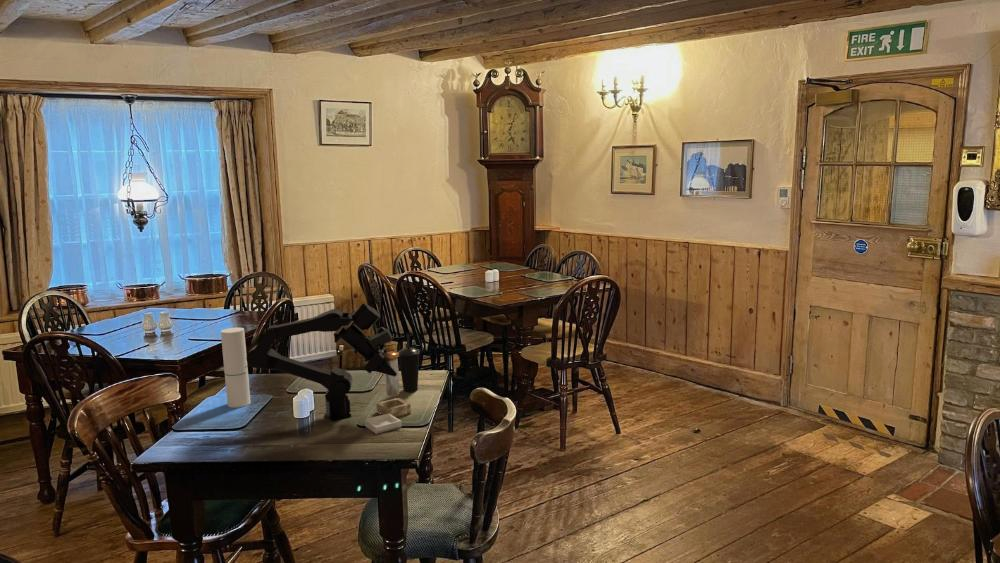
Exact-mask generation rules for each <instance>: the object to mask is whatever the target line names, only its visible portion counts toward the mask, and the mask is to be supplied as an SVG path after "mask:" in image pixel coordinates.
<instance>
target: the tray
mask: <svg viewBox="0 0 1000 563" xmlns="http://www.w3.org/2000/svg"><path fill="white" fill-rule="evenodd" d="M363 426H364V427H365V428H367V429H369V430H370V431H372V432H373V433H375V434H376V435H379V434H381V433H386V432H389V431H393V430H396V429H401V428H402V427H403V426H402V420H401V419H400V418H398V417H394V416H392V415H391V414H389V413H388V414H384V415H381V414H379V415H375V416H372V417H368V418H365V419H363Z"/></svg>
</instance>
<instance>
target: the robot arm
mask: <svg viewBox="0 0 1000 563" xmlns="http://www.w3.org/2000/svg"><path fill="white" fill-rule="evenodd" d="M380 318H381V314H380V313H379V312H378V310H376V309H375V308H374V307H373V306H370V305H369V304H367V303H365V302H362V303H361V304H360V306H359V307H358V308H357V309H356V310H355V311H354V312H342V310H339V309H338V308H332V309H330V310H327V311H325V312H322V313H319V314H318V315H316V316H313V317H310V318H305V319H301V320H296V321H290V322H286V323H281V324H277V325H276V324H275V325H274V324H272V325H270V326H269V327H268V328H267V329H266V330H265V333H264V335H263V336H262V338H261V339H260V340H259V342H258V344H256V345H254V346H253V347H252V348H251V349H250V350H249V351H248V353H246V356H247V357H246V360H247V366H249V367H251V368H253V369H260V370H277V371H278V372H282V373H285V374H289V375H291V376H295V377H299V378H301V379H304V380H307V381H310V382H313V383H316V384H320V385H321V386H322V387H324V388H325V389H326V392H325V395H324V397H325V398H324V399H325V401H324V402H325V413H324V414H323V415H324V416H325V417H327V419H329V420H330V421H332V422H333V421H338V420H341V419H344V418H349V417H352V414H351V400H350V399H349V395H348V393H349V392H350V390H351V388H352V386H353V385H352V384H353V377H352V375H351V373H350V372H348V371H347V368H346V369H345V368H339V367H338V366H335V365H333V367H332V369H323V368H321V367H318V366H315V365H311V364H308V363H305V362H302V361H299V360H296V359H293V358H290V357H286V356H284V355H281V354H280V353H279V352H277V351H276V350H275V349H273V348H272V347H273V346H274V344H275V342H276V341H277V340H279V339H284V338H288V337H292V336H297V335H298V336H299V335H303V334H307V333H312V332H322V333H329V332H334V333H333V337H334V338H333V339H334V343H336V344H337V342H339V340H340V339H341V340H342V341H343V342H344V343H345V344H347V345H348V346H349V347H350V348H352V349H353V352H354V354H358V355H360V356H361V357H362V358H363V361H364V362H365V364H364V371H366V372H367V373H368V374H371V373H372V372H375V373H380V374H384V375H385V374H387V375H391V376H394V377H395V376H396V375H397V373H396V372H395V371H394V369H393V368H392V367H391V366H390V365H389V364H388V362H387V361H386V354H385V355H383V353H385V352H388V348H387V343H390V342H392V341H393V339H394V337H393V335H392V333H391V331H390V329H389V328H385V327H383V326H381V327H379V328H378V329H377V333H376V334H374V335H372V336H371V334H368V333H367V334H366V333H364V332H363V331H365V330H366V331H368V330H370V329H371V328H372V326H373V325H374V324H375V323H376V322H377V321H378V320H379V319H380ZM385 347H386V348H385ZM383 348H384V349H383Z"/></svg>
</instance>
